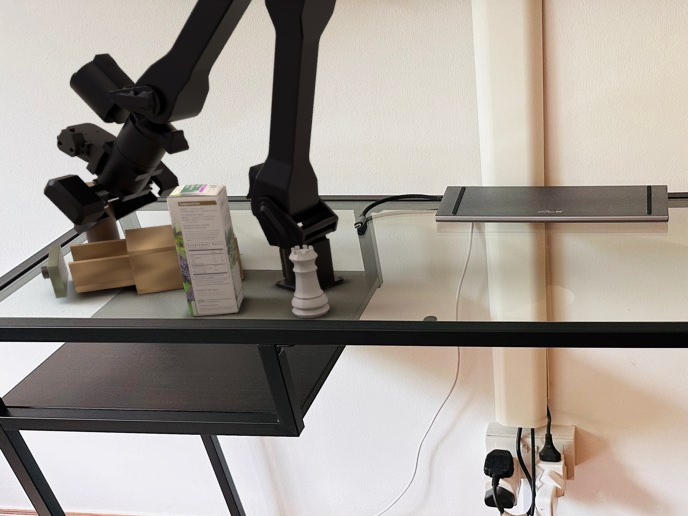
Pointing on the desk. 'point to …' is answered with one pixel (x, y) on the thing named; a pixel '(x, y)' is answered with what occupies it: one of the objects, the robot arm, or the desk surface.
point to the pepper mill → (104, 227)
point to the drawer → (90, 267)
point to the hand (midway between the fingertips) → (92, 226)
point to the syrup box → (206, 248)
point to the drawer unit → (157, 259)
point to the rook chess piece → (307, 285)
